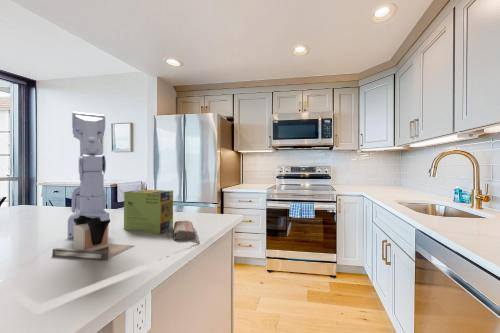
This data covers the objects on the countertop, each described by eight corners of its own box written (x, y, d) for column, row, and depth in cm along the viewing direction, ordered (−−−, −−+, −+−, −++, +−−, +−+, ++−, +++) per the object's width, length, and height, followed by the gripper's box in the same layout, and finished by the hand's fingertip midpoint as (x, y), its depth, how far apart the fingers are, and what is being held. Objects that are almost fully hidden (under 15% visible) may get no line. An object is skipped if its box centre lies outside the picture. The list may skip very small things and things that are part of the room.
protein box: (160, 234, 92) (160, 192, 92) (123, 232, 94) (123, 191, 94) (173, 227, 102) (174, 190, 102) (139, 226, 105) (140, 189, 105)
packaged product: (169, 220, 96) (195, 219, 98) (169, 232, 96) (195, 231, 98) (167, 232, 78) (199, 230, 81) (167, 247, 78) (198, 245, 81)
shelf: (51, 260, 66) (51, 249, 66) (89, 246, 78) (89, 236, 78) (104, 265, 63) (104, 253, 63) (135, 249, 75) (135, 239, 75)
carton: (73, 250, 70) (73, 225, 70) (99, 243, 76) (99, 221, 76) (83, 253, 68) (83, 228, 68) (108, 246, 74) (108, 223, 74)
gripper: (64, 195, 72) (63, 242, 72) (90, 199, 65) (90, 251, 65) (89, 193, 78) (89, 236, 78) (116, 196, 71) (116, 243, 71)
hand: (91, 242), depth 72 cm, fingers closed on carton, 5 cm apart
